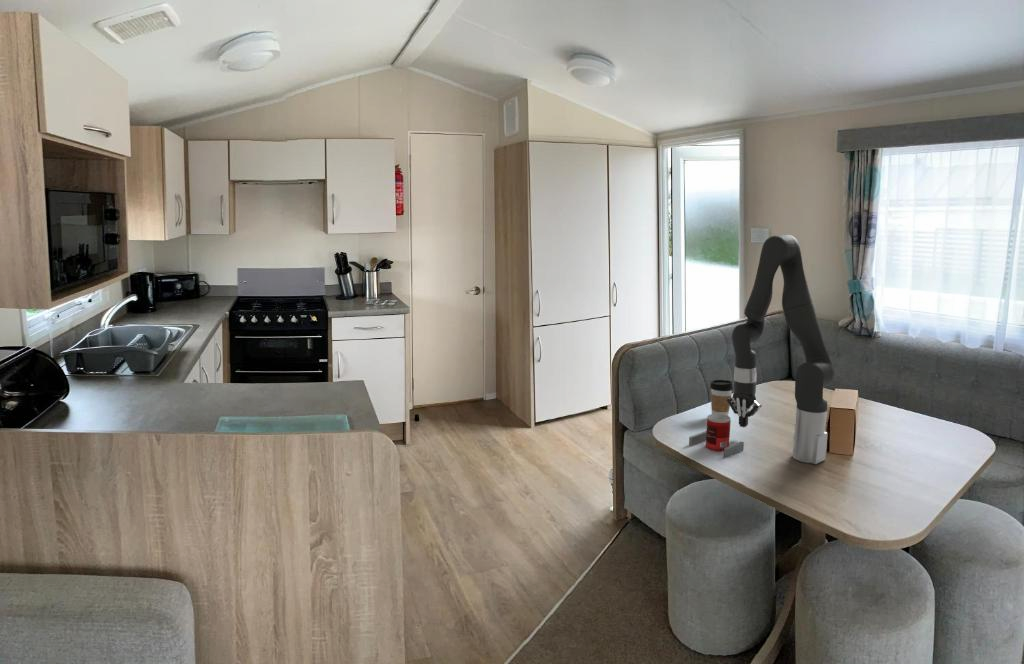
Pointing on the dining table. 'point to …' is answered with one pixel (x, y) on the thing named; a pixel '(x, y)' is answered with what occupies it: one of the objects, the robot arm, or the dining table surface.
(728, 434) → the canned food
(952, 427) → the dining table surface
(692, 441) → the lane rails
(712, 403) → the coffee cup
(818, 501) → the dining table surface
